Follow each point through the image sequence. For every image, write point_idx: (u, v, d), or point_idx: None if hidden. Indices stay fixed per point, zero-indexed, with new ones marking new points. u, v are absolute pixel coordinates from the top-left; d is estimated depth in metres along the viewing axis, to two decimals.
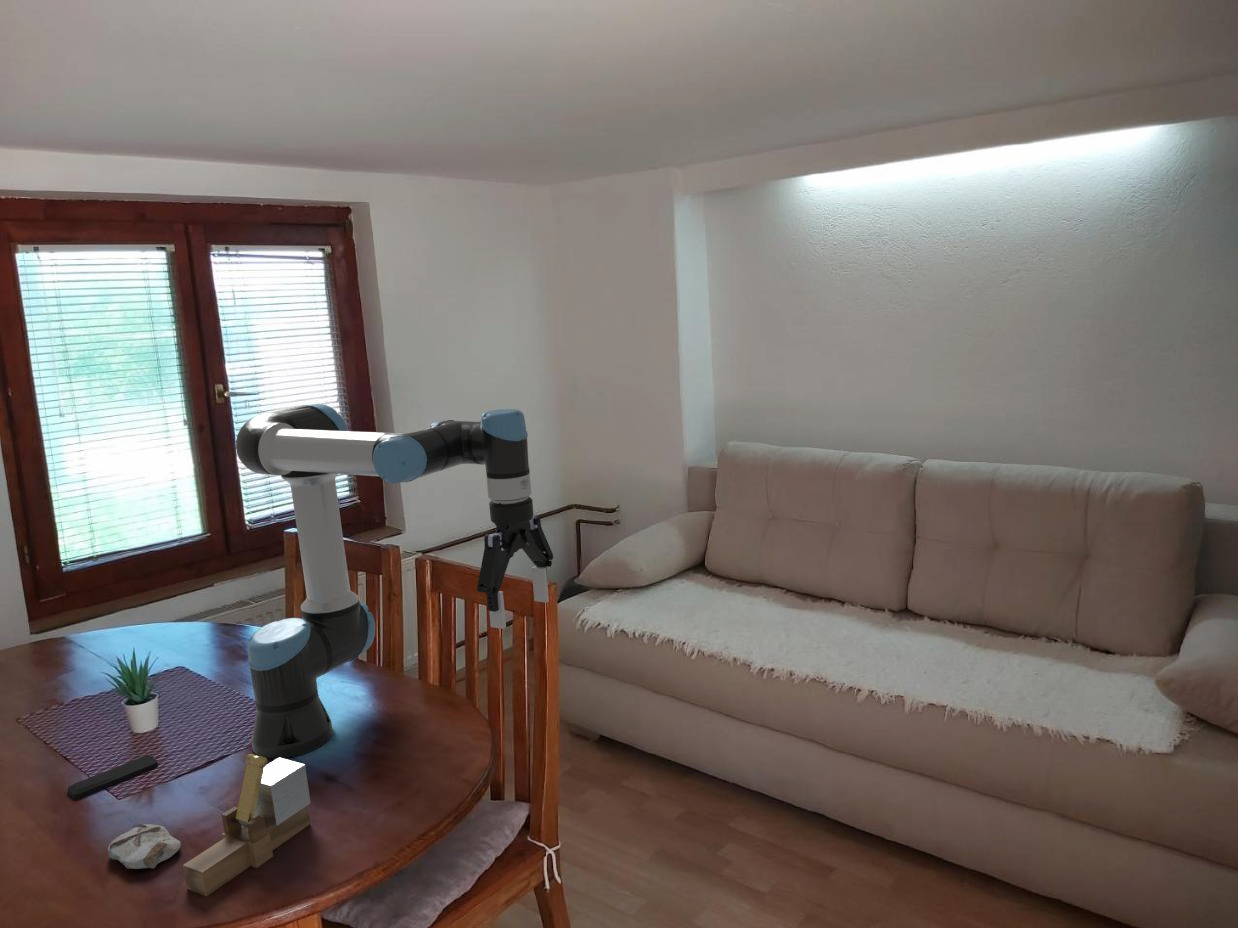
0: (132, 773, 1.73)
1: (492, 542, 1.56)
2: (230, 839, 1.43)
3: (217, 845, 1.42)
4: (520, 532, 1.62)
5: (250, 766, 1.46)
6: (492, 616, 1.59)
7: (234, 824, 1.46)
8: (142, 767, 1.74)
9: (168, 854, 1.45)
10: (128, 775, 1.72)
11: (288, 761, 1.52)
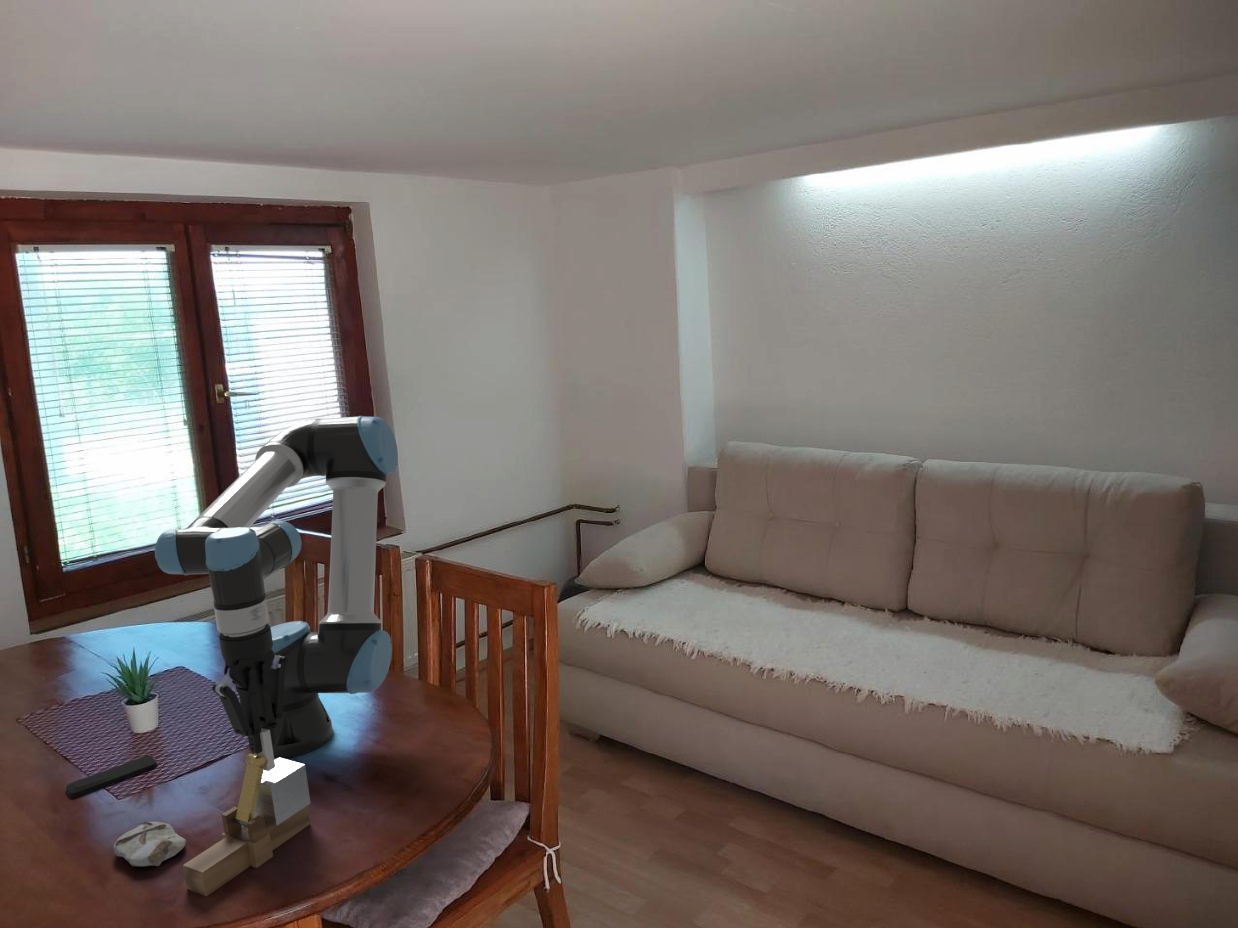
0: (130, 773, 1.73)
1: (222, 694, 1.39)
2: (230, 839, 1.43)
3: (217, 845, 1.42)
4: (259, 662, 1.44)
5: (250, 766, 1.46)
6: None
7: (234, 824, 1.46)
8: (140, 767, 1.74)
9: (173, 852, 1.46)
10: (126, 775, 1.72)
11: (288, 761, 1.52)
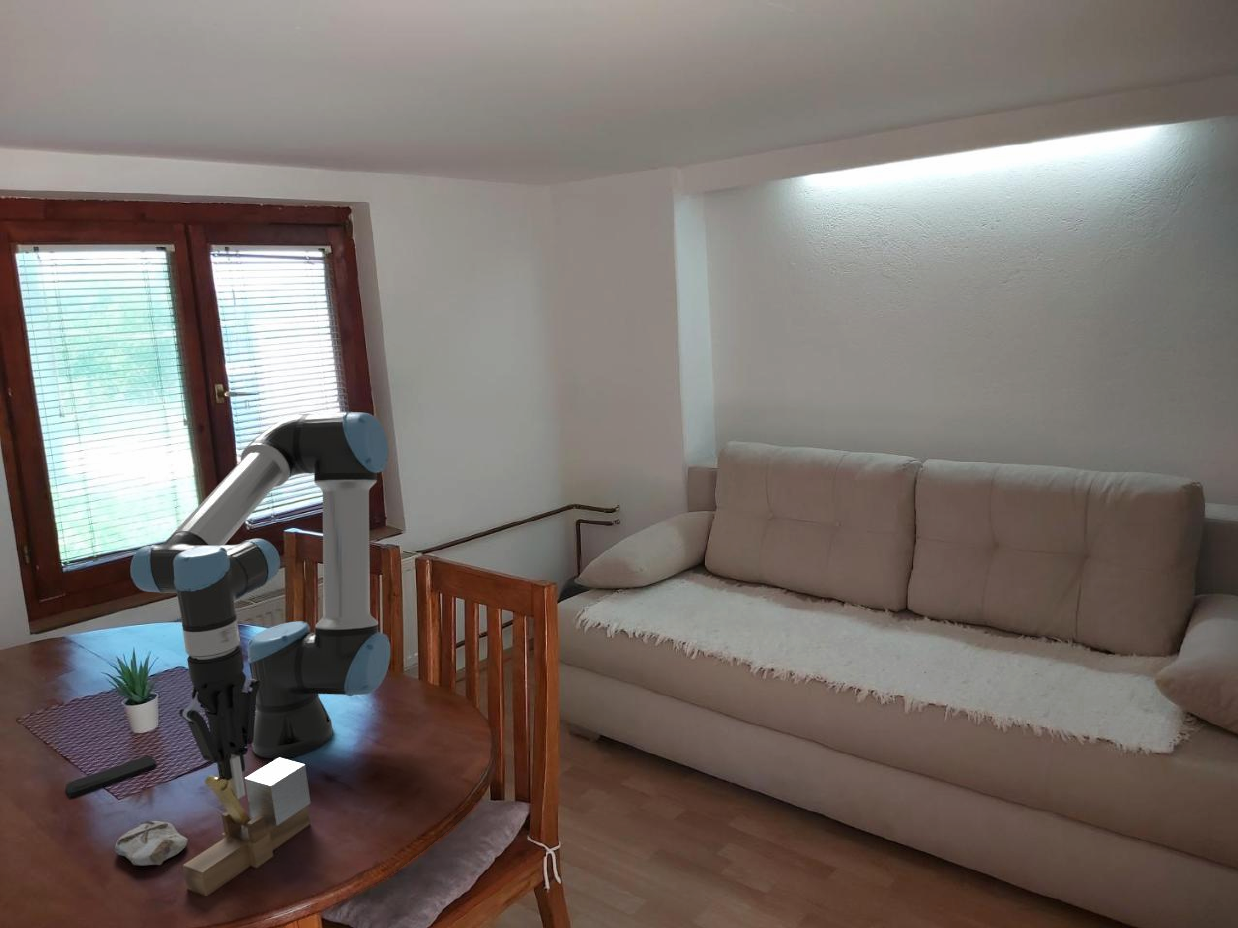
0: (129, 773, 1.73)
1: (190, 719, 1.34)
2: (230, 839, 1.43)
3: (217, 845, 1.42)
4: (229, 685, 1.39)
5: (214, 788, 1.40)
6: None
7: (234, 824, 1.46)
8: (140, 768, 1.74)
9: (175, 851, 1.46)
10: (125, 775, 1.72)
11: (288, 761, 1.52)
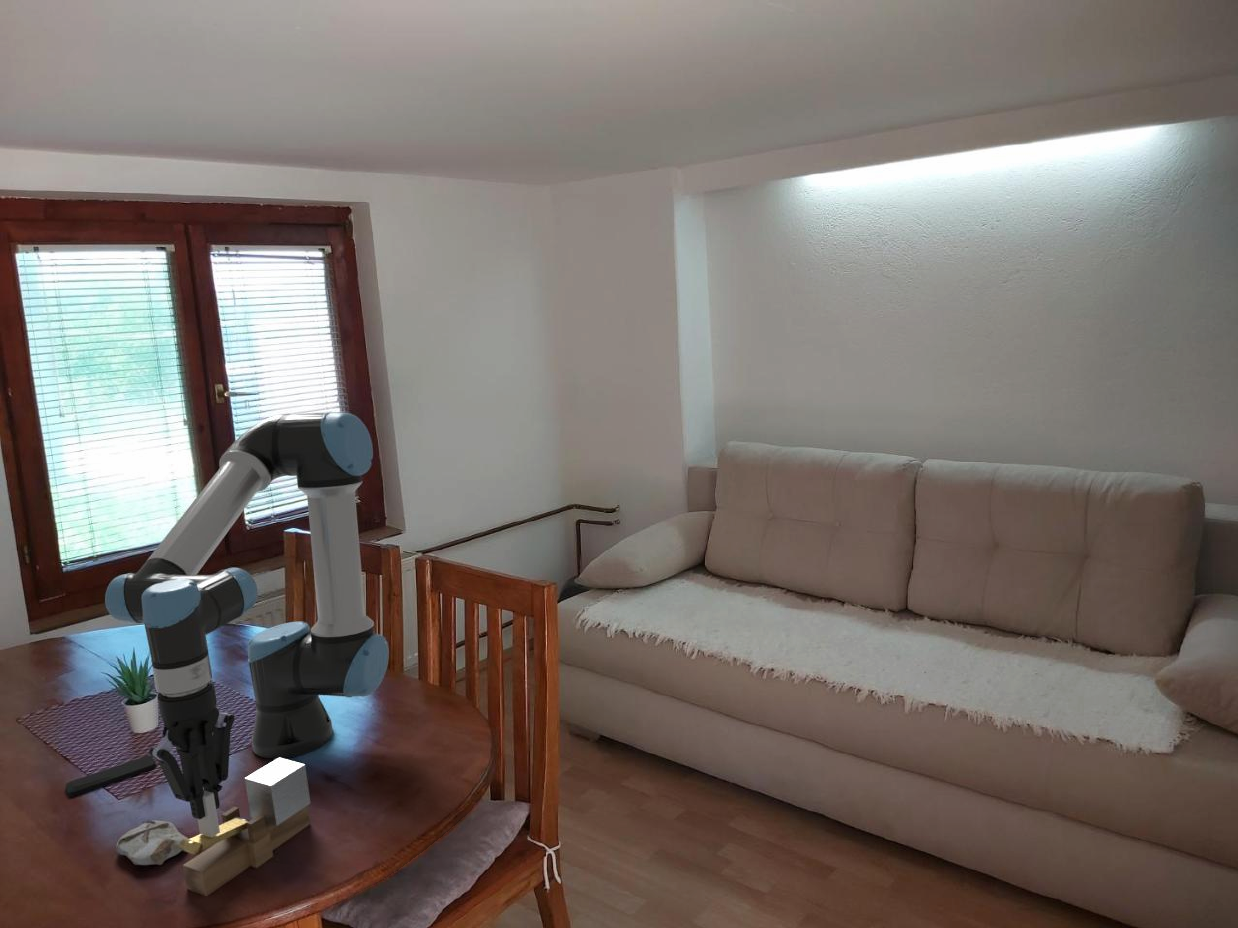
0: (129, 773, 1.73)
1: (160, 759, 1.30)
2: (230, 839, 1.43)
3: (217, 845, 1.42)
4: (201, 721, 1.35)
5: None
6: (200, 822, 1.38)
7: None
8: (139, 768, 1.74)
9: (175, 851, 1.46)
10: (124, 775, 1.72)
11: (288, 761, 1.52)
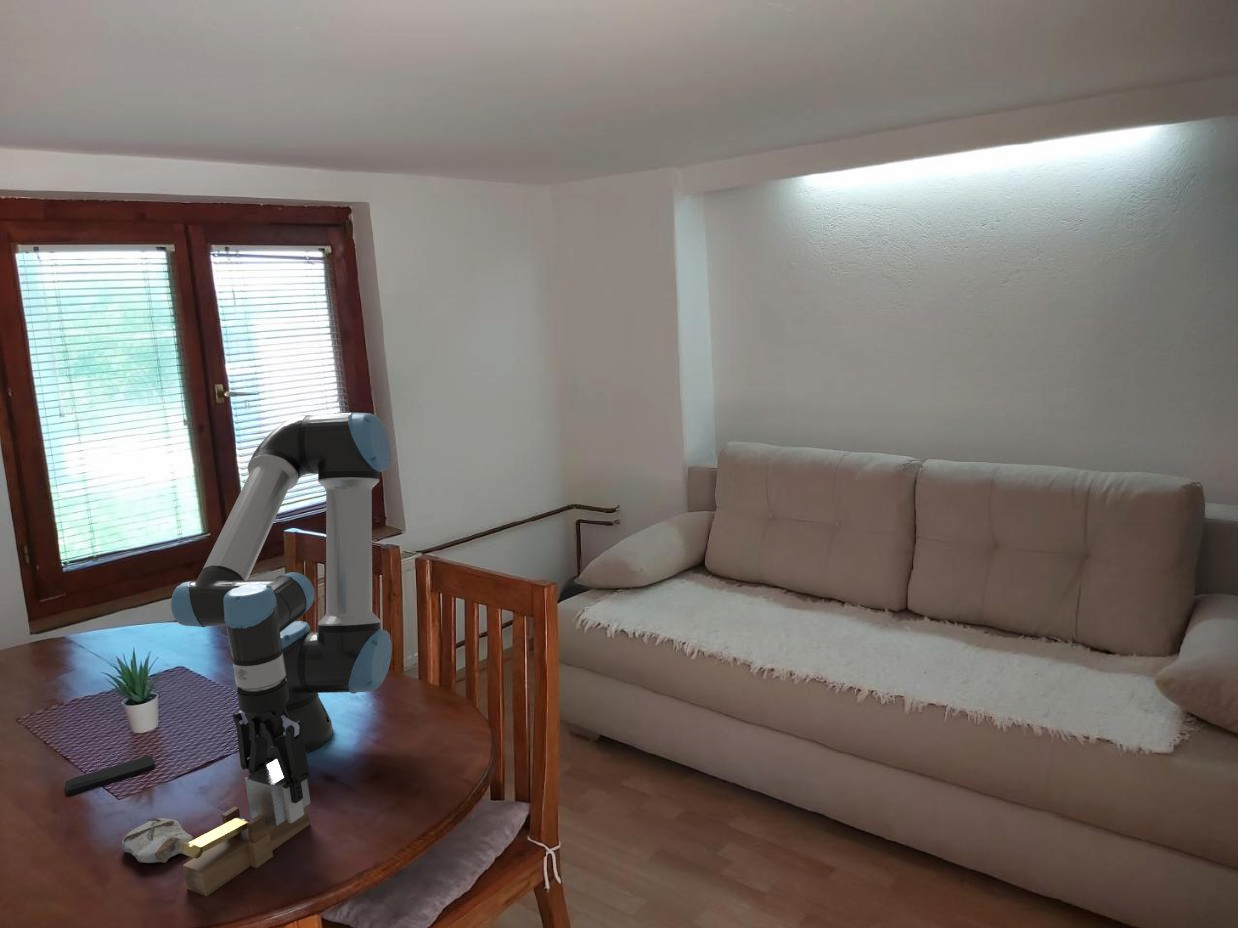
0: (127, 773, 1.73)
1: None
2: (230, 839, 1.43)
3: (217, 845, 1.42)
4: (263, 720, 1.46)
5: None
6: None
7: None
8: (138, 768, 1.74)
9: None
10: (122, 775, 1.72)
11: None
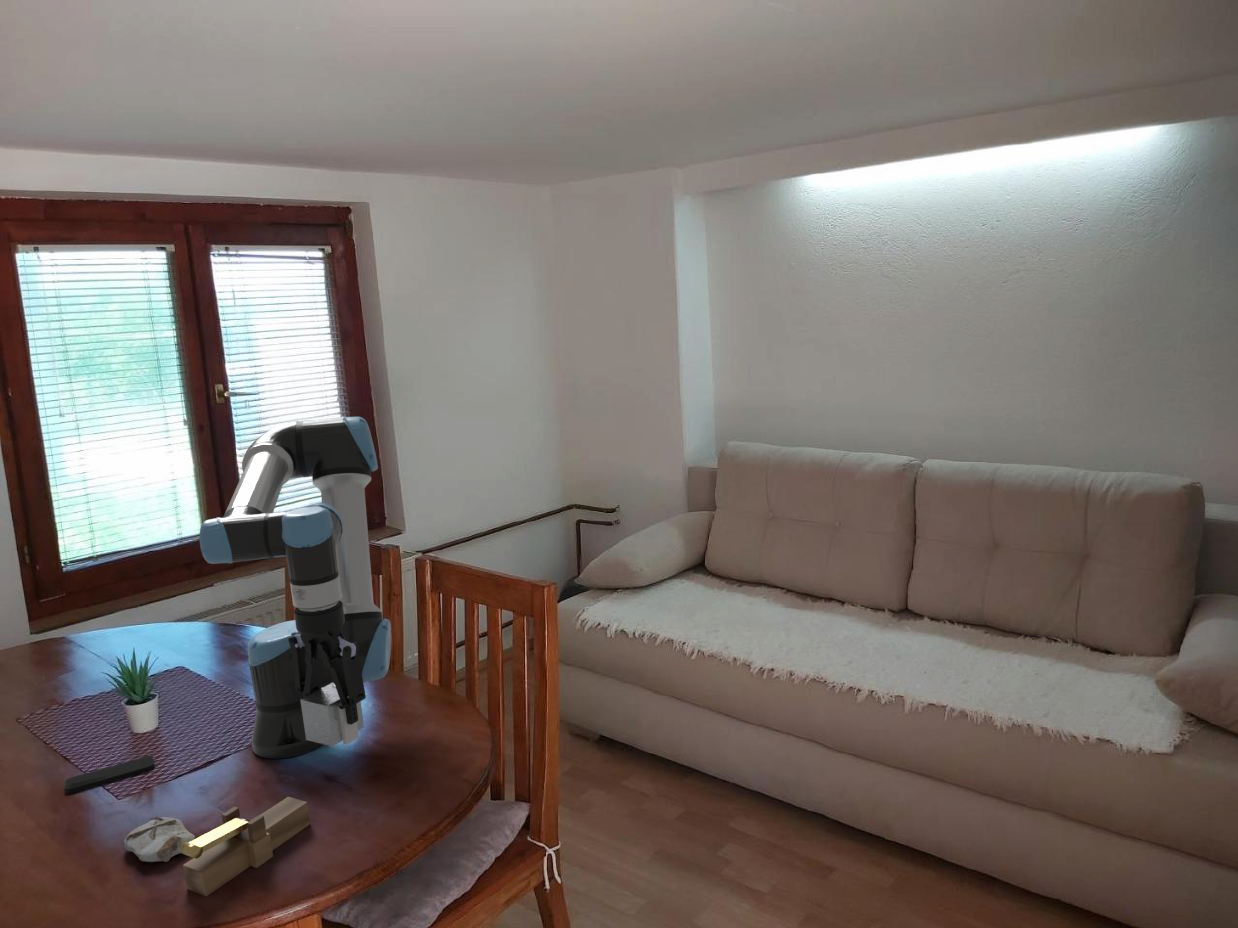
0: (126, 774, 1.73)
1: None
2: (230, 839, 1.43)
3: (217, 845, 1.42)
4: (320, 641, 1.48)
5: None
6: None
7: None
8: (137, 768, 1.74)
9: None
10: (121, 775, 1.72)
11: None
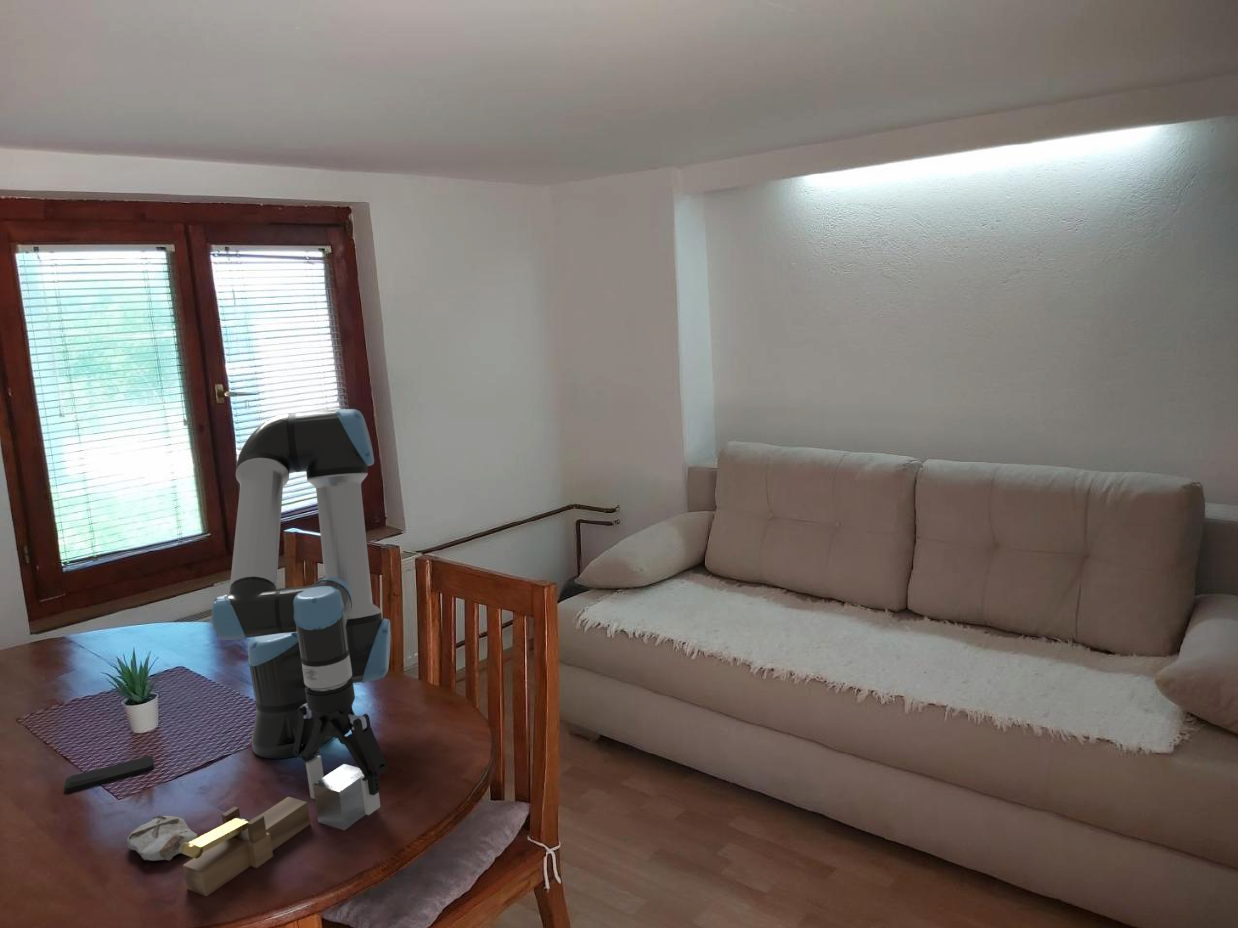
0: (125, 774, 1.73)
1: None
2: (230, 839, 1.43)
3: (217, 845, 1.42)
4: (330, 720, 1.50)
5: None
6: None
7: None
8: (136, 769, 1.74)
9: None
10: (120, 775, 1.72)
11: (353, 767, 1.57)
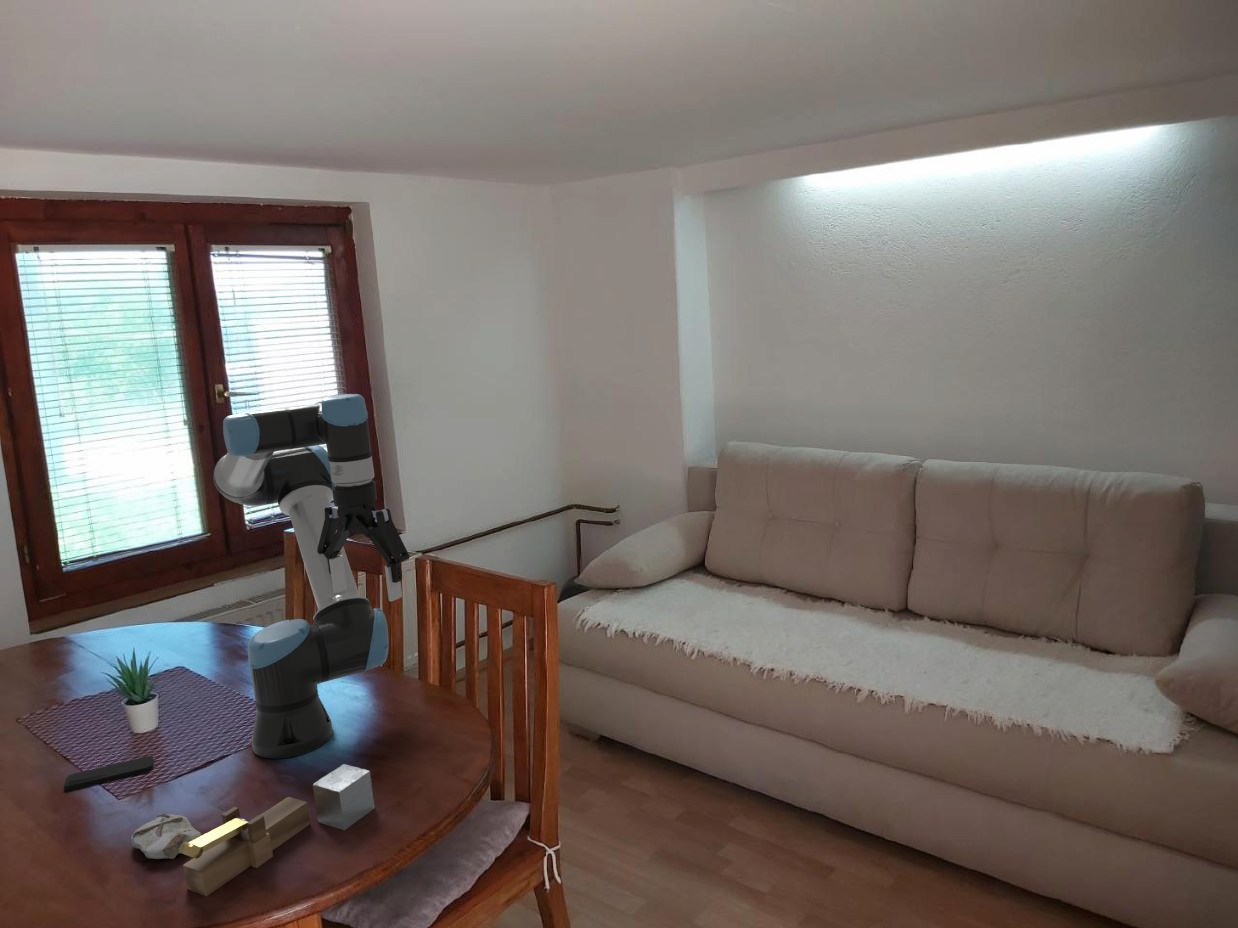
0: (123, 774, 1.73)
1: None
2: (230, 839, 1.43)
3: (217, 845, 1.42)
4: None
5: None
6: None
7: None
8: (135, 769, 1.74)
9: None
10: (119, 775, 1.72)
11: (353, 767, 1.57)
